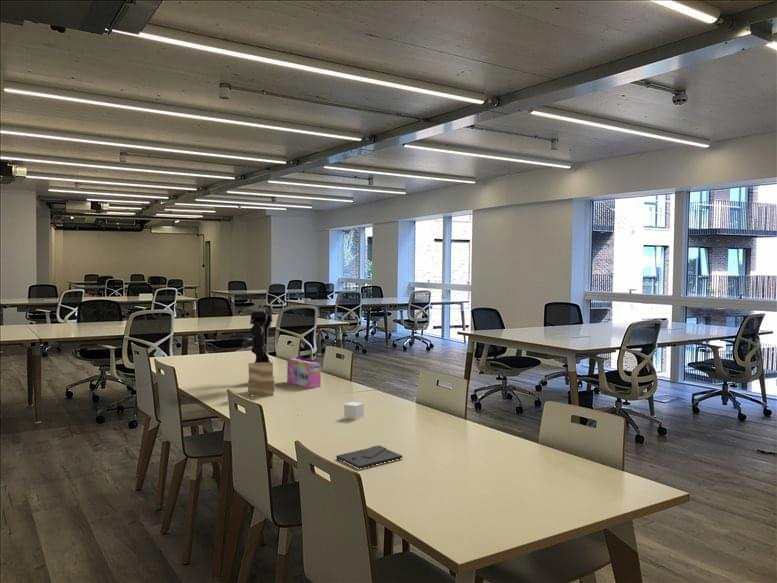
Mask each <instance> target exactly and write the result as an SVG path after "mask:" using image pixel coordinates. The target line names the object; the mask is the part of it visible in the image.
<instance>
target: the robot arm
mask: <svg viewBox="0 0 777 583" xmlns="http://www.w3.org/2000/svg"><path fill="white" fill-rule="evenodd" d="M272 323H273V313H272V311H270V310H269V308H268V306H260V307H259V306H258V309H257V310H253V311H252V312H251V314H250V322H249V324H250V325H252V326H251V328H250V334H251V335H252V338H251V339H250V340H248V339H245V340H243V342H242V343H241V345H242V347H243V349H244V350H246V349H247V348H250V347H252V348H251V353H253V354H254V355H255V360H254V363H272V362H271V360H270V358H269V356H268V337H269V329H270V328H271V327H272Z"/></svg>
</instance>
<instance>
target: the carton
mask: <svg viewBox="0 0 777 583" xmlns="http://www.w3.org/2000/svg"><path fill="white" fill-rule="evenodd" d="M275 382H276V381H275V375H273V381H261V382H249V378H248V379H247V393H248V397H252V396H251V395H270V396H274V394H273V393H275V388H276V387H275Z"/></svg>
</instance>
